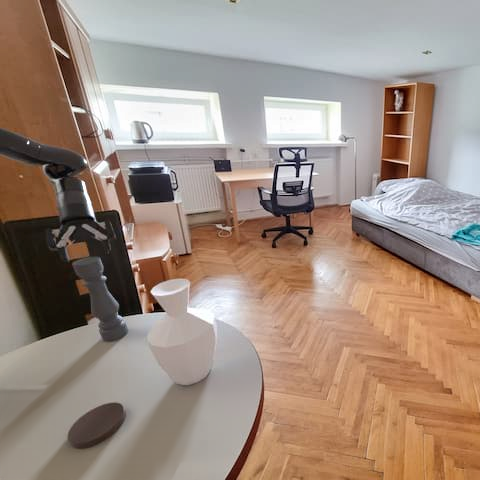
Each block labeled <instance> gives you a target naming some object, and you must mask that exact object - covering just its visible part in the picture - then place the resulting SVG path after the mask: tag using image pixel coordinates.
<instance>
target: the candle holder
mask: <svg viewBox="0 0 480 480" xmlns="http://www.w3.org/2000/svg"><path fill="white" fill-rule="evenodd" d="M101 259H102V258H101V257H100V256H88V257H83V258H80V259H77V260H75V261H73V262H72V263H71V265H72V267H73V270H74V273H75V275H76V276H78V278H80V279H81V280H83V281H82V282H81V285H82V286H83V287H85V288H86V289H87V291H88V294H89V296H90V311H91V312H90V313H91V316H93V318H96V319H98V321H99V323H98V325H97V326H98V328H99V329H98V332H99V334H100V337H101V340H102V341H103V342H104V343H105V342H106V343H111V342H115V341H118V340H120V339H123V338H124V337H125V336H127V334H128V333H129V328H128V325H127V322H126V321H125V319H124V317H122V316H121V315H119V310H120V304H119V302H118V301H117V300H116V299H115V297H113V295H112V294H111V293H110V291H109V290H108V289H109V288H108V287H107V284H106V281H107V276H105V275H103V272H104V269H105V267H104V264H103V262H102V260H101ZM123 336H124V337H123ZM119 338H120V339H119ZM117 339H118V340H117Z"/></svg>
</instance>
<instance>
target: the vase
mask: <svg viewBox="0 0 480 480" xmlns="http://www.w3.org/2000/svg"><path fill="white" fill-rule="evenodd" d="M190 289H191V281H190V280H189V279H188V278H173V279H168V280H165V281H162V282H159V283H158V284H156V285H155V286H153V287H152V289H151V290H150V292H149V293H150V294H151V295H152V296H153V297H154V299H155V300H156V301H157V303H158V305H160V307H161V308H162V310H164V312H165V313H166V315H164V316H163V317H162V318H161V319H159V321H157V323H155V324H154V325H153V326H152V327H151V328H150V330H149V331H148V333H147V336H146V337H145V338H146V342H147V344H148V347H149V349H150V351H151V353H152V355H153V356H154V359H155V361H156V362H157V364H158V366H159V367H160V368H161V369H162V370H163V371H164V372H165V373H166V374H167V376H168V377H169V379H170V380H171V381H172V382H173V384H177V385H182V386H191V385H193V384H197V383H199V382H200V381H202V380H203V379H205V378H207V376H208V375H209V373H210V372H211V370H212V368H213V366H214V361H215V355H216V349H217V342H218V341H217V340H218V324H217V319H216V316H215V314H214V313H212V312H211V311H210V310H208V309H202V308H191V307H189V299H190Z"/></svg>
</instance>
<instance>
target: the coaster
mask: <svg viewBox="0 0 480 480" xmlns="http://www.w3.org/2000/svg"><path fill="white" fill-rule="evenodd" d="M126 418H127V412H126V409H125V407H124V405H123V404H122V403H120V402H115V401H114V402H108V403H104V404H103V403H102V404H101V405H99V406H96V407H94V408H92V409H90V410H89V411H87V412H86V413H84V414H83V415H81V416H80V417H79V418H77V420H76V421H75V422H74V423H73V424H72V425H71V427H70V428H69V429H68V432H67V441H68V443H69V444H70V446H71V447H72V448H74V449H78V450H81V449H87V448H90V447H91V448H92V447H93V446H96V445H98V444H100V443H102V442H104V441H105V440H107V439H109V438H110V437H111V436H112V435H114V434H115V433H116V432H117V431H118V430H119V429H120V428H121V427H122V426H123V424H124V422H125V421H126Z"/></svg>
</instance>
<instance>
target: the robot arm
mask: <svg viewBox="0 0 480 480" xmlns="http://www.w3.org/2000/svg"><path fill="white" fill-rule="evenodd" d="M0 156H2V157H4V158H7V159H11V160H12V161H15V162H18V163H21V164H24V165H28V166H30V167H41V166H42V168H41V169H42V172H43V174H44V175H45V177H46V178H47V180H48V181H49V183H50V184H51V185H52V187H53V189H54V194H55V198H56V199H55V200H56V210H57V213H58V217H59V222H60V228H57V229H56V228H55V229H52V228H49V227H48V228H45V241H46V247H47V248H48V249H49V250H50V251H52V252H55V251H58V255H59V256H58V257H59V258H60V259H61V261H62V262H65V263H69V262H71V261H70V257H69V253H68V250H67V249H68V248H69V246H71V245H72V244H73V243H74V242H75V241H76V242H80V241H84V240H91V239H92V238H94V239H95V240H98V241H101V243H102V247H103V251H104V253H105V254H106V255H108V254H110V252H111V251H112V248H111V243H110V242H111V241H115V240H116V239H117V237H116V234H115V231H114V229H113V226H112V223H111V221H110V219H104V221H101V222H98V221H97V218H96V214H95V211H94V208H93V207H94V206H93V203H92V201H91V198H90V196H89V192H88V188H87V185H86V183H85V182H84V181H83V180H82V179H81V178H80V177H77V176H79V175H80V174H83V173H84V172H85V171H87V169H88V167H89V164H88V161H87V160H86V159H85V157H84V156H82V155H81V154H79V153H77V152H76V151H74V150H71V149H68V148H64V147H60V146H57V145H51V144H46V143H41V142H39V141H36V140H34V139H32V138H29V137H27V136H24V135H22V134H20V133H18V132H16V131H12V130H9V129H7V128H4V127H1V126H0ZM100 228H103V230H107V233H108V234H107V235H105V234H103V233H102V232H100V231H99V230H100ZM60 234H61V235H63V236H62V237H61V239H60V241H59V242H58V243H57V240H56V238H58V237H59V235H60Z"/></svg>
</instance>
